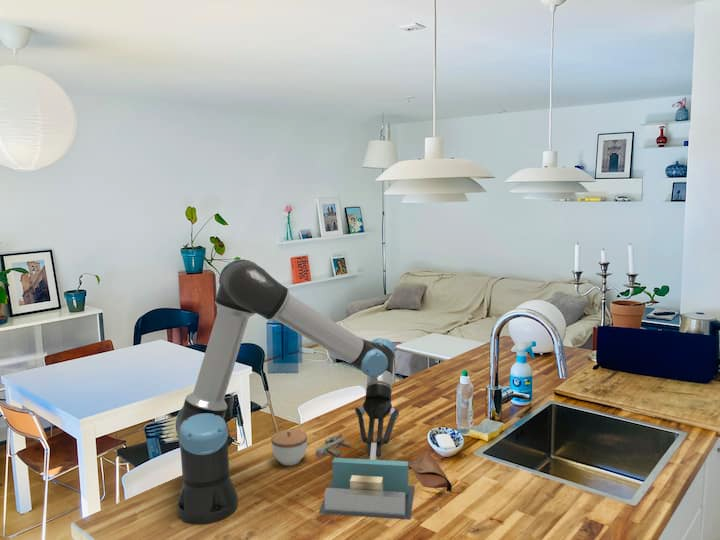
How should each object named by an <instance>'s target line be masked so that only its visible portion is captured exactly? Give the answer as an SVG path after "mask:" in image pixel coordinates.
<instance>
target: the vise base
mask: <svg viewBox="0 0 720 540" xmlns="http://www.w3.org/2000/svg"><path fill="white" fill-rule="evenodd" d="M415 487H416V486H415V485H409V491H408V495H405V492H390V491H373V490H357V489H340V488H333V480H332V481H331V482H330V483H329V487H326V488H325V491H324V493H323V495H324V498H323V501H322V504H321V506H320V508H319V510H318V514H323V515H337V516H349V517H351V516H352V517H367V518H379V519H393V520H411V519H412V513H413V511H412V510H413V504H414V496H415V489H416V488H415Z"/></svg>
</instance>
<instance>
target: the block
mask: <svg viewBox="0 0 720 540" xmlns="http://www.w3.org/2000/svg"><path fill="white" fill-rule="evenodd" d="M350 489H357V490H373V491H383V477H375V476H357V475H352V476H351V479H350Z"/></svg>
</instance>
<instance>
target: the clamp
mask: <svg viewBox="0 0 720 540" xmlns="http://www.w3.org/2000/svg"><path fill="white" fill-rule="evenodd" d="M342 435H343V433H341V432H339V434H337V435H335V436H332V435H331V436H329V438H328V439H326V440H324V443H325V445H324V446H322V447H319V448H318V449H316V450H315V456H316V457H318V458H320V457H321V459H324V456H326V457H327V453H326V452H328V453H331V454H332V455H333V456H335V457H339V456H340V455H341V451H339V450H337V449H338V448H340V447H342V446H347V447H352V444H349V443H348V442H345V439H344V438H343V437H341V436H342ZM338 437H339V438H338ZM337 438H338V439H337ZM330 441H331V442H330ZM328 442H329V443H328ZM336 445H338V446H336ZM341 445H342V446H341ZM334 446H336V449H334V450H332V449H330V448H332V447H334ZM334 448H335V447H334Z"/></svg>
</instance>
